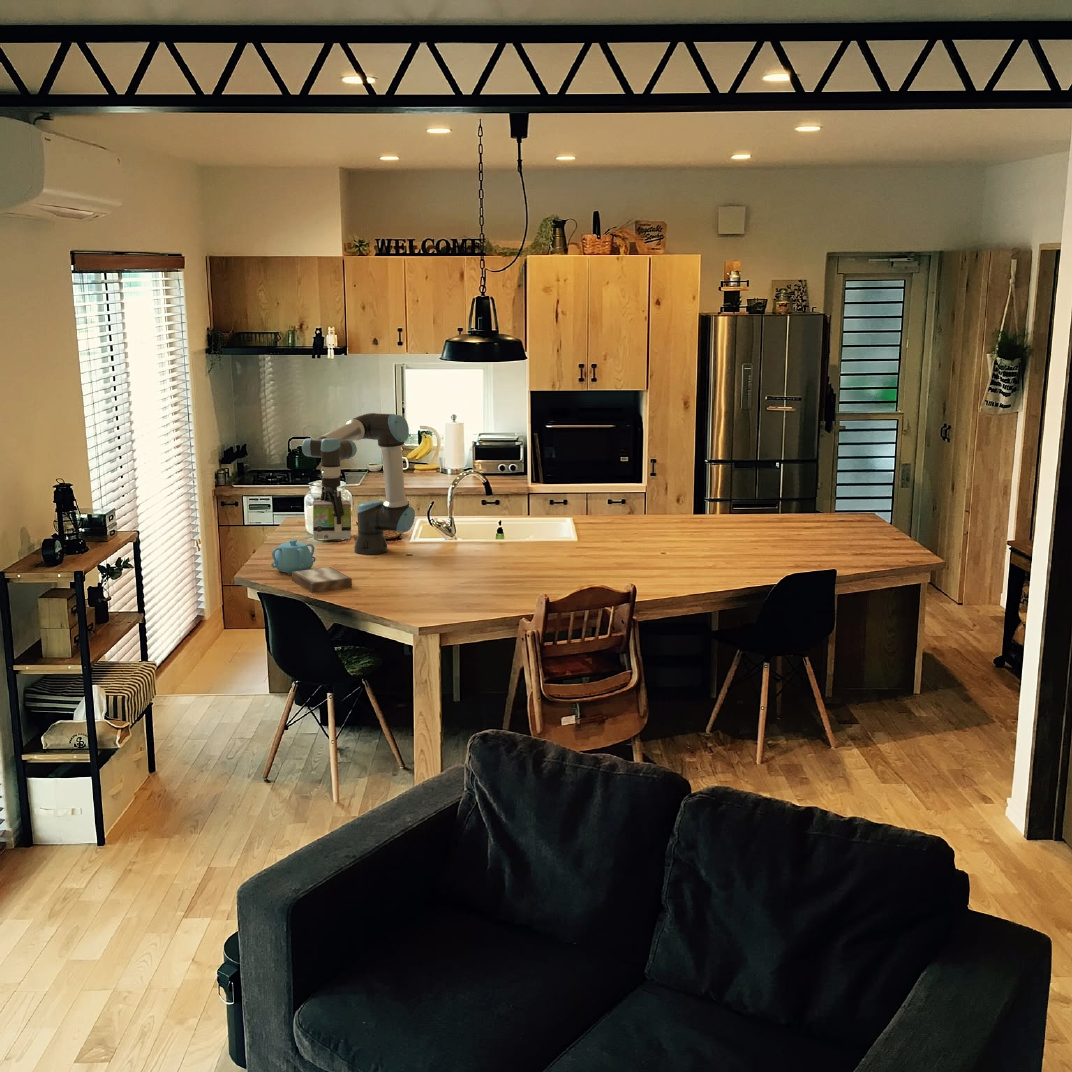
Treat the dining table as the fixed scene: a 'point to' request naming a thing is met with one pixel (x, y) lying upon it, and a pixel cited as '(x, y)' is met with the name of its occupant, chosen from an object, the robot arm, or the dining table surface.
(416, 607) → the dining table surface
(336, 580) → the tray
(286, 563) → the decorative pot
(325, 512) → the tea box
